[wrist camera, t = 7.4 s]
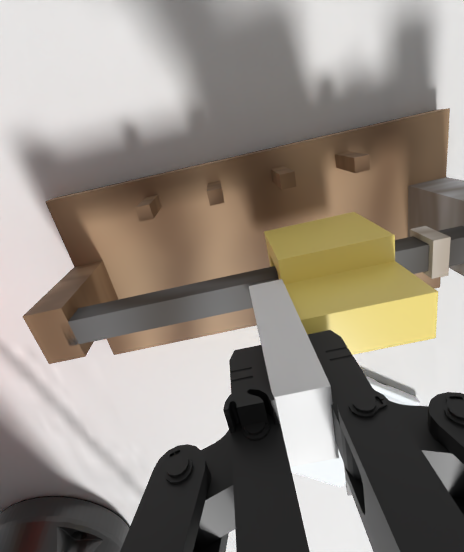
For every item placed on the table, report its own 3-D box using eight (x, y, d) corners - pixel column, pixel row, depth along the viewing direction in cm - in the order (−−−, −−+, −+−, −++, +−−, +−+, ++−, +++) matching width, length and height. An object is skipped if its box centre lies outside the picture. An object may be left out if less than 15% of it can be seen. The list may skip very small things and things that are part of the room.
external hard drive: (271, 452, 33) (342, 362, 29) (337, 473, 35) (413, 392, 31) (274, 467, 31) (348, 374, 27) (343, 489, 33) (423, 405, 29)
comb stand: (118, 345, 26) (73, 443, 18) (54, 198, 21) (-48, 239, 13) (430, 280, 25) (534, 352, 17) (437, 109, 20) (588, 94, 12)
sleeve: (276, 300, 20) (307, 387, 13) (263, 231, 18) (293, 291, 11) (358, 283, 20) (434, 362, 13) (354, 211, 18) (439, 260, 11)
